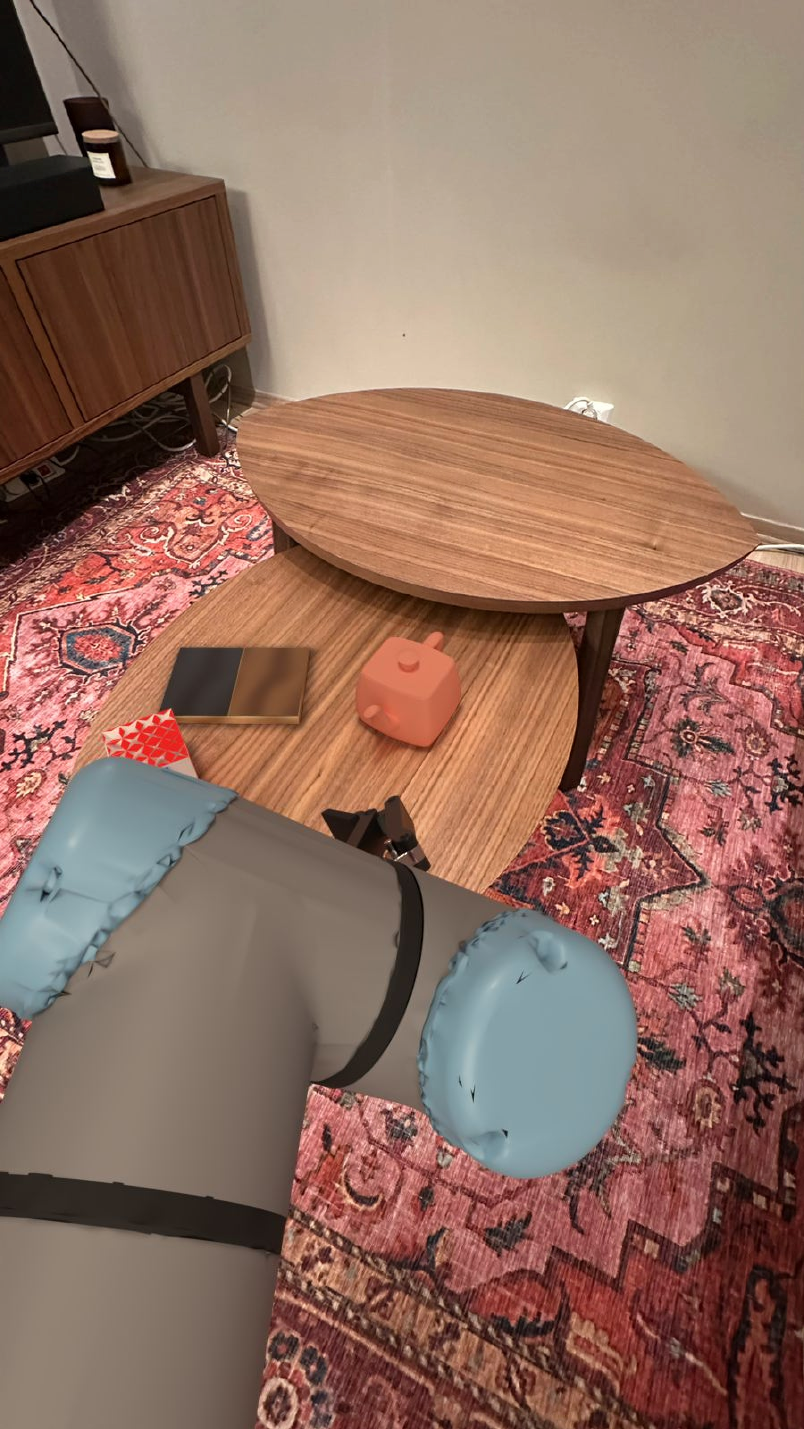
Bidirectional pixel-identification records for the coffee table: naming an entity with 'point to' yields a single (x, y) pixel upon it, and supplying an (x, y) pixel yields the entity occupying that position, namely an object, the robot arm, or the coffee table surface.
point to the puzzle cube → (151, 743)
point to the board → (238, 685)
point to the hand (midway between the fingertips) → (260, 872)
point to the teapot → (409, 689)
